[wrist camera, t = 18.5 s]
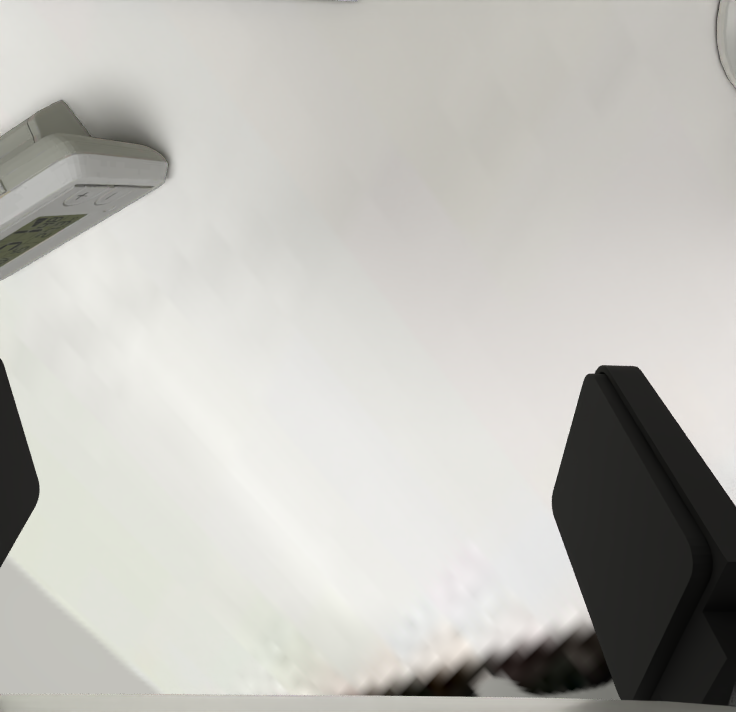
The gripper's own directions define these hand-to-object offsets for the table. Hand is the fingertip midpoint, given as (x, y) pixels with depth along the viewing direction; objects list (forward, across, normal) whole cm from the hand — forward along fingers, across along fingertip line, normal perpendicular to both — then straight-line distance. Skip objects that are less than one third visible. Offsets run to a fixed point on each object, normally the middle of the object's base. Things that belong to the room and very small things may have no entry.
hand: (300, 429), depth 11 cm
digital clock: (+34, +18, +8) cm, 39 cm away
